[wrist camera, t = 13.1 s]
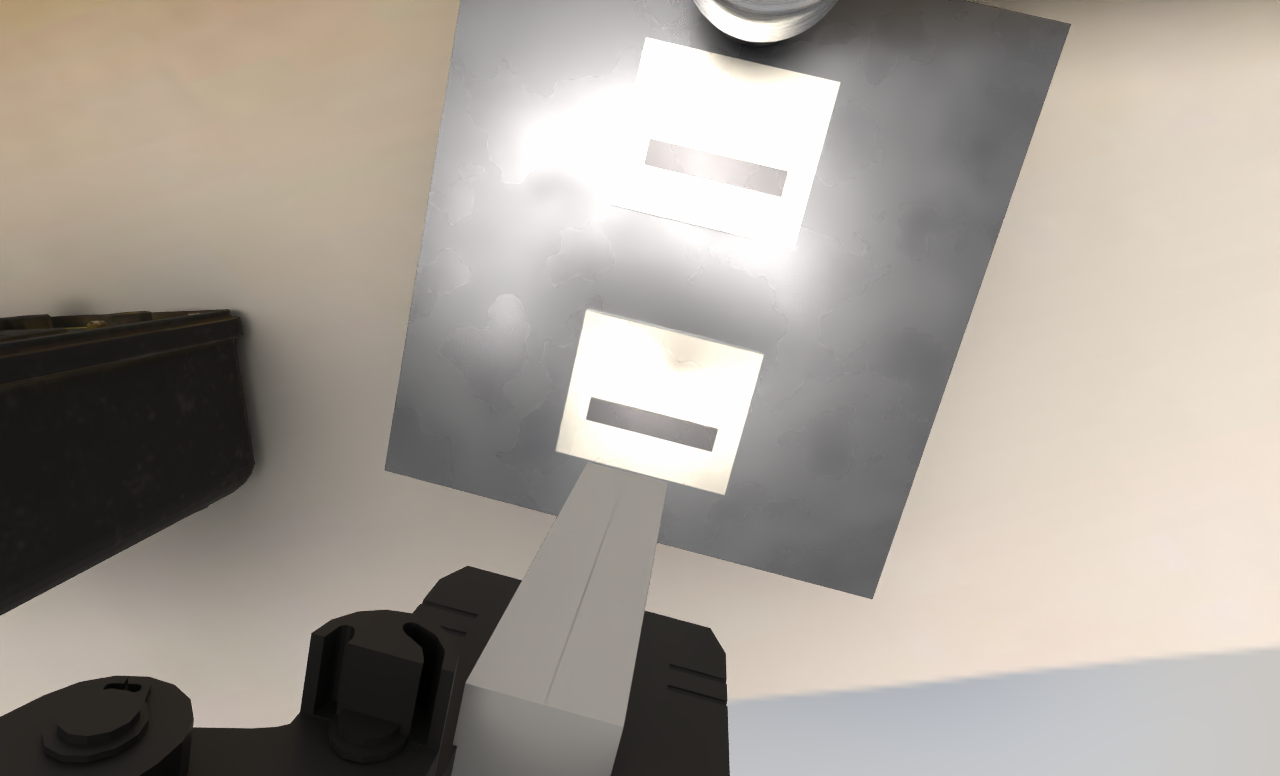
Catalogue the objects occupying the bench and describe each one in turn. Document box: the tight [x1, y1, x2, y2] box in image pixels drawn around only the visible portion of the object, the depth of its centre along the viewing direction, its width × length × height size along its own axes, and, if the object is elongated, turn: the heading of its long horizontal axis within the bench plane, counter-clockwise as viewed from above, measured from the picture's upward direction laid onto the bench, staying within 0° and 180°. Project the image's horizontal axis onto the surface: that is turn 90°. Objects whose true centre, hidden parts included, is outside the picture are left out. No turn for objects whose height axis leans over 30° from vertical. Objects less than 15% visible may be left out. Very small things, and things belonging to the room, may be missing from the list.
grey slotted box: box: [385, 0, 1071, 599], centre depth 23 cm, size 18×20×6 cm
